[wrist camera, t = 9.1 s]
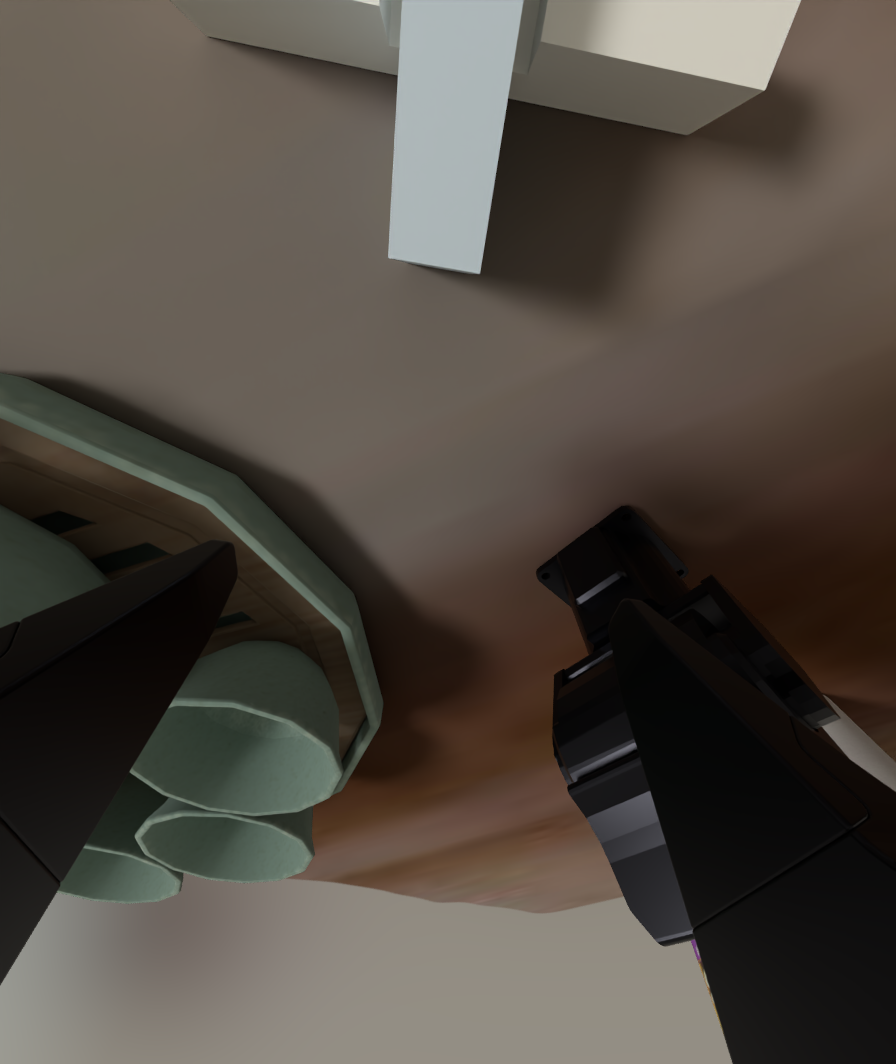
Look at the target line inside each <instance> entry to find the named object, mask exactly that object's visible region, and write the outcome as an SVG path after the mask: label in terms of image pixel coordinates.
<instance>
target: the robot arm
mask: <svg viewBox="0 0 896 1064" xmlns="http://www.w3.org/2000/svg"><path fill="white" fill-rule="evenodd" d="M626 513H628V515H627V516H626V517H624V518H622V516H623V515H624V514H626ZM677 570H679V571H677ZM676 571H677V572H676ZM544 573H548V574H547V575H542V574H544ZM687 574H688V568H687V567H686V566H685V564H684V563H683V562H682V561H681V560H680V559H679V558H678V557H677V556H676V555H675V554H674V553H673V552H672V550H671V549H670V548H669V547H668V546H667V545H666V544H665V543H664V542H663V541H662V540H661V539H660V538H659V537H658V536H657V534H656V533H655V532H654V531H653V530H652V529H651V528H650V527H649V526H648V525H647V524H646V523H645V522H644V521H643V520H642V518H641V517H640V516H639V515H638V514H637V513H636V512H635V511H634V510H633V509H632V508H631V507H629V506H621V507H620V508H618V509H617V510H615V511H614V512H612V513H611V514H610V515H608V516H607V517H606V518H604V519H603V520H602V521H600V522H599V523H598V524H596V525H595V526H594V527H592V528H590V529H589V530H588V531H586V532H585V533H584V534H582V535H581V536H580V537H578V538H577V539H576V540H574V541H573V542H572V543H570V544H569V545H568V546H566V547H565V548H564V549H562V550H561V551H560V552H558V554H556V555H555V556H554V557H552V558H551V559H550V560H548V561H547V562H546V563H544V564H543V565H542V566H540V567H539V568H538V569H537V571H536V575H537V579H538V580H539V581H540V582H541V583H542V584H543V585H545V586H546V587H547V588H548V589H549V590H551V591H552V592H553V593H554V594H556V595H557V596H558V597H559V598H560V599H562V600H563V601H564V602H565V603H567V604H568V605H569V606H570V607H571V608H572V610H573V613H574V616H575V618H576V621H577V624H578V626H579V629H580V632H581V634H582V637H583V640H584V643H585V645H586V648H587V651H588V653H589V655H588V656H587V657H585V658H583V659H582V660H580V661H579V662H577V663H575V664H574V665H572V666H571V667H569V668H568V669H566V670H565V669H562V670H561V671H559V672H557V673H556V674H554V699H553V732H552V738H553V747H554V756H555V758H556V760H557V762H558V765H559V768H560V770H561V772H562V774H563V776H564V778H565V780H566V782H567V784H568V787H567V789H568V792H569V794H570V796H571V797H572V799H573V800H574V802H575V803H576V804H577V806H578V807H579V808H580V810H581V811H582V813H583V814H584V815H585V817H586V818H587V820H588V822H589V824H590V825H591V827H592V829H593V831H594V832H595V834H596V836H597V838H598V839H599V841H600V843H601V845H602V847H603V849H604V852H605V854H606V856H607V858H608V860H609V862H610V865H611V867H612V869H613V872H614V874H615V876H616V879H617V881H618V883H619V886H620V888H621V891H622V893H623V895H624V898H625V900H626V902H627V905H628V907H629V908H630V910H631V912H632V913H633V914H634V916H635V917H636V918H637V919H638V920H639V922H640V923H641V924H642V925H643V926H644V927H645V929H646V930H647V931H648V932H649V933H650V935H652V937H653V938H654V939H655V940H656V941H657V942H658V943H659V944H660V945H662V946H670V945H675V944H679V943H683V942H687V941H691V940H695V942H696V945H697V948H698V951H699V955H700V958H701V961H702V965H703V968H704V971H705V974H706V978H707V981H708V984H709V988H710V991H711V994H712V997H713V1001H714V1004H715V1007H716V1011H717V1014H718V1017H719V1020H720V1024H721V1027H722V1030H723V1034H724V1037H725V1040H726V1043H727V1047H728V1050H729V1053H730V1056H731V1059H732V1063H733V1064H896V792H895V791H894V790H893V789H891V788H890V787H888V786H887V785H885V784H884V783H883V782H881V781H880V780H878V779H877V778H876V777H874V776H873V775H871V774H870V773H869V772H867V771H866V770H864V769H863V768H862V767H860V766H859V765H857V764H856V763H855V762H853V761H852V760H850V759H849V758H848V756H847V755H846V754H845V753H844V752H843V751H842V749H841V748H840V747H839V746H838V745H837V744H836V742H835V741H834V740H833V739H832V738H831V737H830V736H829V734H828V733H827V732H826V731H825V730H824V729H823V727H822V726H825V725H827V724H829V723H832V722H834V721H837V720H839V719H841V718H840V717H839V715H838V714H837V713H836V711H835V710H834V709H833V707H832V706H831V705H830V703H829V702H828V701H827V700H826V698H825V697H824V696H823V694H822V693H821V692H820V691H819V689H818V688H817V687H816V685H815V684H814V683H813V681H812V680H811V679H810V678H809V676H808V675H807V674H806V672H805V671H804V670H803V669H802V668H801V666H800V665H799V664H798V663H797V662H796V661H795V660H794V659H793V658H792V656H791V655H790V654H789V653H788V652H787V651H786V650H785V649H784V648H783V647H782V646H781V644H780V643H779V642H778V641H777V640H776V639H775V638H774V637H773V636H772V635H771V634H770V632H769V631H768V630H767V629H766V628H765V627H764V626H763V625H762V624H761V623H760V622H759V621H758V620H757V619H756V618H755V617H754V616H753V615H752V614H751V613H750V612H749V611H748V610H747V609H746V608H745V607H744V606H743V605H742V604H741V603H740V602H739V601H738V600H737V599H736V598H735V597H734V596H733V595H732V594H731V593H730V592H729V591H728V590H727V589H726V588H725V587H724V586H723V585H722V584H721V583H720V582H719V581H718V580H717V579H716V578H715V577H714V576H713V575H710V576H709V577H707V578H705V579H704V580H702V581H701V583H702V584H701V585H699V586H697V587H696V588H694V589H693V590H691V591H690V590H689V588H688V587H687V586H686V584H685V583H684V582H683V580H682V578H684V577H685V576H686V575H687ZM237 577H238V568H237V560H236V553H235V547H234V545H233V543H232V542H230V541H223V540H217V539H212V540H209V541H207V542H204V543H202V544H199V545H197V546H195V547H192V548H190V549H187V550H185V551H183V552H180V553H178V554H176V555H173V556H171V557H168V558H166V559H164V560H161V561H159V562H156V563H154V564H152V565H149V566H147V567H144V568H142V569H140V570H137V571H135V572H133V573H130V574H128V575H125V576H123V577H121V578H118V579H116V580H113V581H111V582H109V583H106V584H104V585H101V586H99V587H97V588H94V589H92V590H89V591H87V592H85V593H82V594H80V595H78V596H75V597H73V598H70V599H68V600H66V601H63V602H61V603H58V604H56V605H54V606H51V607H49V608H46V609H44V610H42V611H39V612H37V613H35V614H32V615H30V616H27V617H25V618H23V619H22V620H21V622H19V621H15V622H13V623H10V624H8V625H6V626H3V627H1V628H0V985H1V983H2V982H3V980H4V978H5V977H6V975H7V973H8V972H9V970H10V968H11V967H12V965H13V964H14V962H15V960H16V959H17V957H18V955H19V954H20V952H21V950H22V949H23V947H24V945H25V944H26V942H27V940H28V939H29V937H30V935H31V934H32V932H33V931H34V928H35V927H36V926H37V924H38V922H39V921H40V919H41V917H42V916H43V914H44V912H45V911H46V909H47V908H48V906H49V904H50V903H51V901H52V899H53V898H54V896H55V894H56V893H57V891H58V889H59V888H60V886H61V884H60V882H62V881H63V880H64V879H65V877H66V876H67V874H68V872H69V871H70V869H71V867H72V866H73V864H74V862H75V861H76V859H77V857H78V856H79V854H80V853H81V851H82V849H83V848H84V846H85V844H86V843H87V841H88V839H89V838H90V836H91V834H92V833H93V831H94V829H95V828H96V826H97V825H98V823H99V821H100V820H101V818H102V816H103V815H104V813H105V811H106V810H107V808H108V806H109V805H110V803H111V801H112V800H113V798H114V797H115V795H116V793H117V792H118V790H119V788H120V787H121V785H122V783H123V782H124V780H125V778H126V777H127V775H128V773H129V772H130V770H131V769H132V767H133V765H134V764H135V762H136V760H137V759H138V757H139V755H140V754H141V752H142V750H143V749H144V747H145V745H146V744H147V742H148V741H149V739H150V737H151V736H152V734H153V732H154V731H155V729H156V727H157V726H158V724H159V722H160V721H161V719H162V717H163V716H164V714H165V713H166V711H167V709H168V708H169V706H170V704H171V703H172V701H173V699H174V698H175V696H176V694H177V693H178V691H179V689H180V688H181V686H182V685H183V683H184V681H185V680H186V678H187V676H188V675H189V673H190V671H191V670H192V668H193V666H194V665H195V663H196V661H197V660H198V658H199V657H200V655H201V653H202V652H203V650H204V648H205V646H206V645H207V643H208V641H209V639H210V637H211V635H212V633H213V631H214V629H215V627H216V625H217V622H218V620H219V618H220V616H221V614H222V612H223V609H224V607H225V605H226V603H227V601H228V598H229V596H230V594H231V592H232V590H233V587H234V585H235V583H236V581H237Z"/></svg>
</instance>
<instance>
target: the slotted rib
mask: <svg viewBox="0 0 896 1064" xmlns="http://www.w3.org/2000/svg"><path fill="white" fill-rule="evenodd" d="M170 1H171V2H172V3H173V4H174V5H175V6H176V7H177V8H178V9H179V10H180V11H181V12H182V13H183V14H184V15H185V16H186V17H187V18H188V19H189V20H190V21H191V22H192V23H193V24H194V25H195V26H196V27H197V28H198V29H199V30H200V31H201V32H202V33H203V34H204V35H205V36H209V37H214V38H218V39H223V40H228V41H233V42H238V43H243V44H248V45H252V46H257V47H262V48H267V49H272V50H277V51H281V52H286V53H291V54H296V55H301V56H306V57H310V58H315V59H320V60H325V61H330V62H335V63H339V64H344V65H349V66H354V67H359V68H364V69H368V70H373V71H378V72H383V73H388V74H393V75H398V67H399V49H400V30H401V12H402V0H170ZM800 1H801V0H524V1H523V7H522V14H521V20H520V26H519V32H518V39H517V45H516V51H515V57H514V64H513V70H512V76H511V83H510V89H509V95H508V98H509V99H514V100H518V101H523V102H528V103H533V104H538V105H543V106H548V107H552V108H557V109H562V110H567V111H572V112H577V113H581V114H586V115H591V116H596V117H601V118H606V119H610V120H615V121H620V122H625V123H630V124H635V125H639V126H644V127H649V128H654V129H659V130H664V131H668V132H673V133H678V134H683V135H689V134H691V133H693V132H694V131H696V130H698V129H700V128H701V127H703V126H705V125H707V124H708V123H710V122H712V121H713V120H715V119H717V118H719V117H720V116H722V115H724V114H725V113H727V112H729V111H731V110H732V109H734V108H736V107H738V106H739V105H741V104H743V103H744V102H746V101H748V100H750V99H751V98H753V97H755V96H756V95H758V94H760V93H762V92H763V91H765V89H766V87H767V84H768V82H769V79H770V77H771V74H772V72H773V69H774V67H775V64H776V62H777V59H778V57H779V54H780V52H781V49H782V47H783V44H784V42H785V39H786V37H787V34H788V32H789V29H790V27H791V24H792V21H793V19H794V16H795V14H796V11H797V9H798V6H799V4H800Z"/></svg>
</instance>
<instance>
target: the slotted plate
mask: <svg viewBox="0 0 896 1064" xmlns="http://www.w3.org/2000/svg"><path fill="white" fill-rule="evenodd" d="M523 1H524V0H402V12H401V30H400V49H399V67H398V85H397V104H396V122H395V141H394V159H393V178H392V196H391V214H390V233H389V251H388V258H391V259H394V260H398V261H402V262H405V263H410V264H415V265H421V266H427V267H432V268H438V269H444V270H450V271H455V272H461V273H467V274H480V270H481V264H482V258H483V252H484V245H485V239H486V233H487V227H488V220H489V214H490V208H491V202H492V195H493V189H494V183H495V176H496V170H497V164H498V158H499V151H500V145H501V139H502V133H503V126H504V120H505V114H506V108H507V101H508V95H509V89H510V83H511V76H512V70H513V64H514V57H515V51H516V45H517V39H518V32H519V26H520V20H521V14H522V7H523Z"/></svg>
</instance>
